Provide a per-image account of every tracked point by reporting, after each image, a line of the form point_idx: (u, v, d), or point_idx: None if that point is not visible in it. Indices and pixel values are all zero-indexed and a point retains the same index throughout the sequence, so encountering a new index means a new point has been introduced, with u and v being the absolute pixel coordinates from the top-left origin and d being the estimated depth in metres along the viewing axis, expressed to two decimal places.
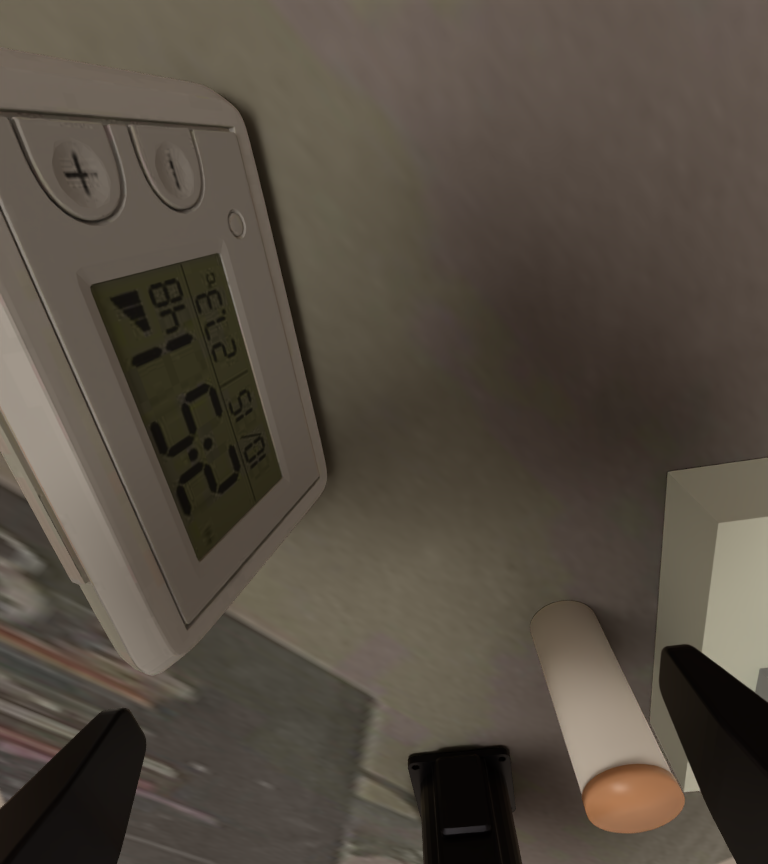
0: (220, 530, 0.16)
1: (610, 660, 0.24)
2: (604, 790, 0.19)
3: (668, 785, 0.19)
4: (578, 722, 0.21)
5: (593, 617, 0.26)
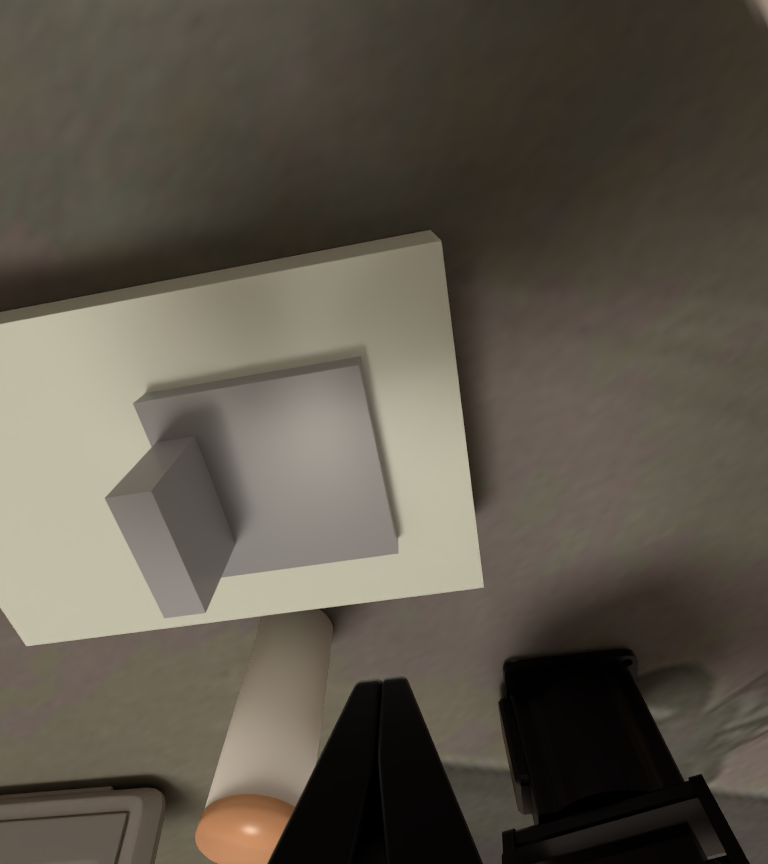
0: None
1: (243, 681, 0.21)
2: (227, 863, 0.17)
3: (205, 826, 0.16)
4: None
5: (262, 624, 0.24)
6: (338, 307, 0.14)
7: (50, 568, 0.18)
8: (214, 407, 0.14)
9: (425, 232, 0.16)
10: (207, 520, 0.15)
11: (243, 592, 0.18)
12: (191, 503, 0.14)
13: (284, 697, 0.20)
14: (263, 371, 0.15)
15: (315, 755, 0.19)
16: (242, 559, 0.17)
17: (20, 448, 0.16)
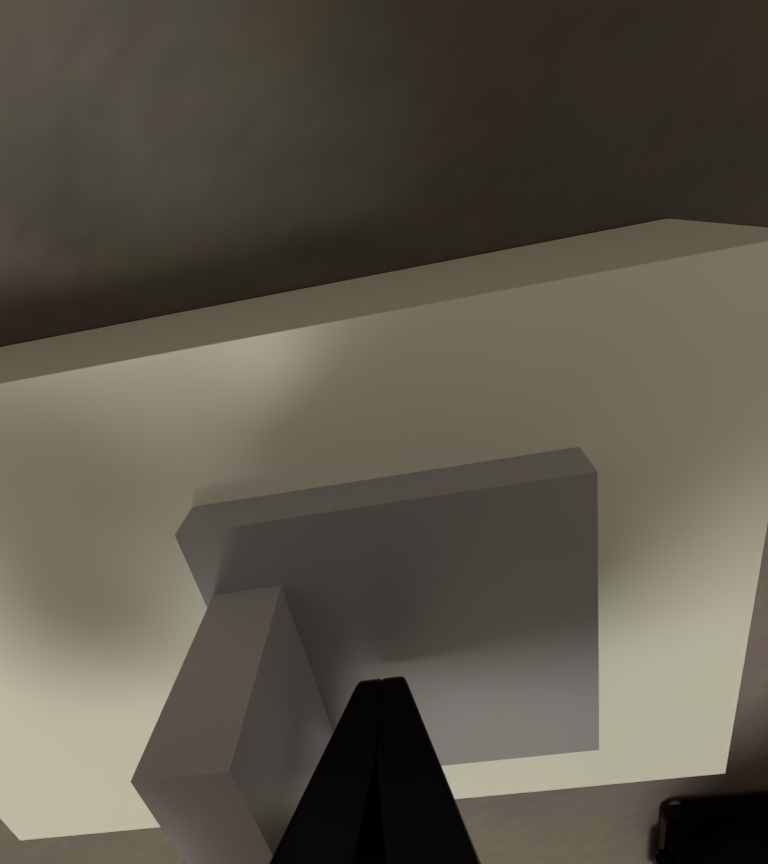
0: None
1: None
2: None
3: None
4: None
5: None
6: (586, 358, 0.07)
7: (55, 747, 0.12)
8: (320, 541, 0.08)
9: (675, 222, 0.10)
10: (304, 735, 0.08)
11: None
12: (284, 725, 0.08)
13: None
14: (430, 467, 0.08)
15: None
16: None
17: (5, 586, 0.10)
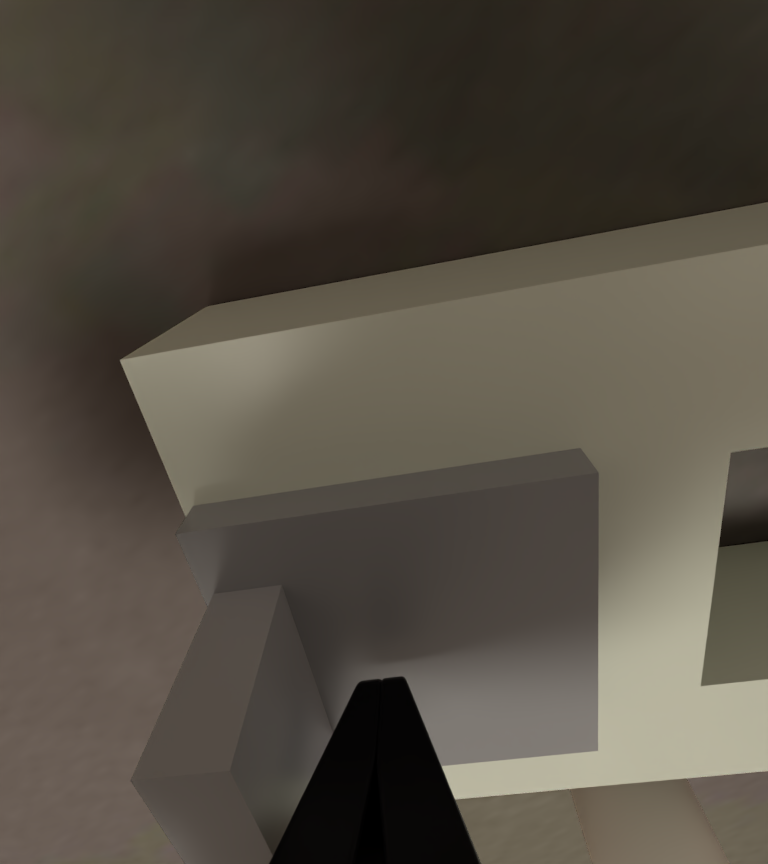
0: None
1: (610, 851, 0.14)
2: None
3: None
4: None
5: None
6: None
7: None
8: (321, 540, 0.08)
9: None
10: (304, 734, 0.08)
11: (696, 744, 0.11)
12: (284, 725, 0.08)
13: None
14: None
15: None
16: None
17: None
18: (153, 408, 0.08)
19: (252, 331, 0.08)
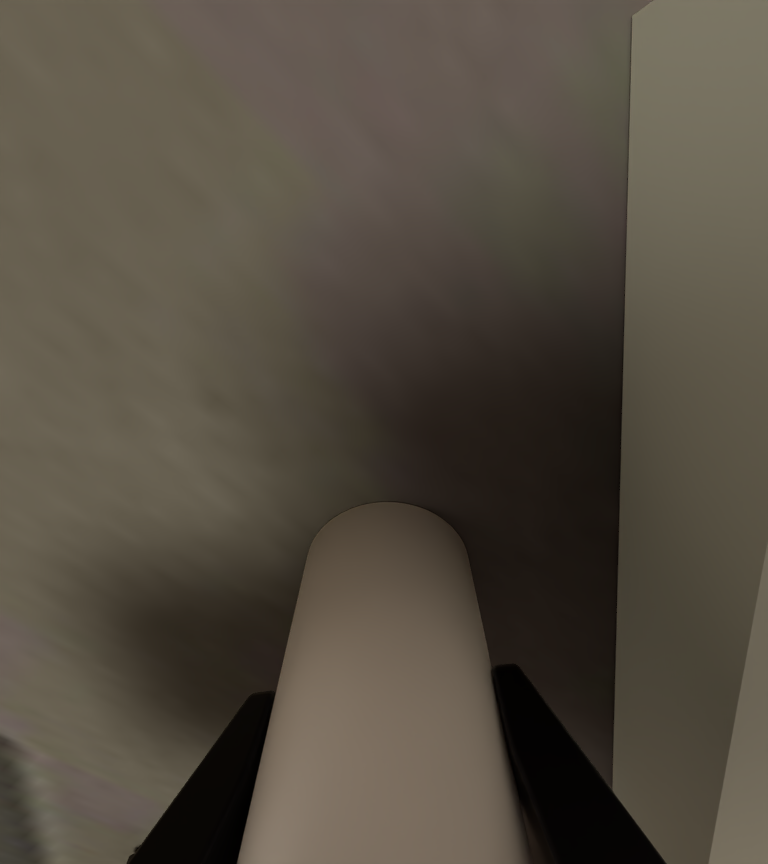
0: None
1: (446, 655, 0.07)
2: None
3: None
4: None
5: (445, 541, 0.10)
6: None
7: None
8: None
9: None
10: None
11: None
12: None
13: None
14: None
15: None
16: None
17: None
18: None
19: None
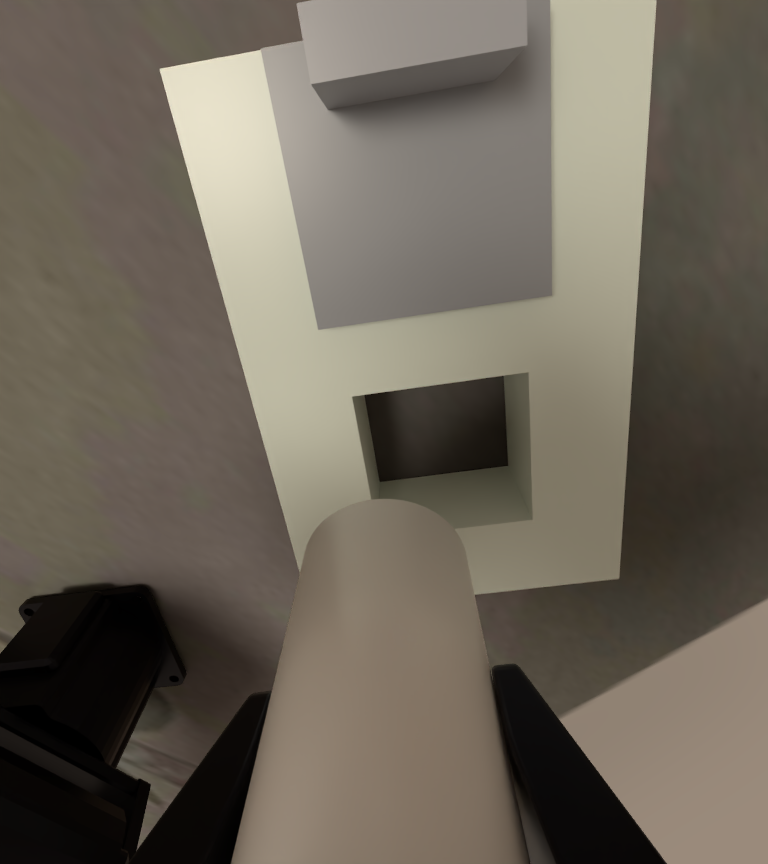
0: None
1: (442, 651, 0.07)
2: None
3: None
4: None
5: (443, 538, 0.10)
6: (588, 517, 0.18)
7: None
8: (528, 117, 0.12)
9: None
10: (401, 87, 0.11)
11: (292, 407, 0.16)
12: (444, 75, 0.10)
13: None
14: (547, 459, 0.17)
15: None
16: (300, 114, 0.12)
17: None
18: None
19: None
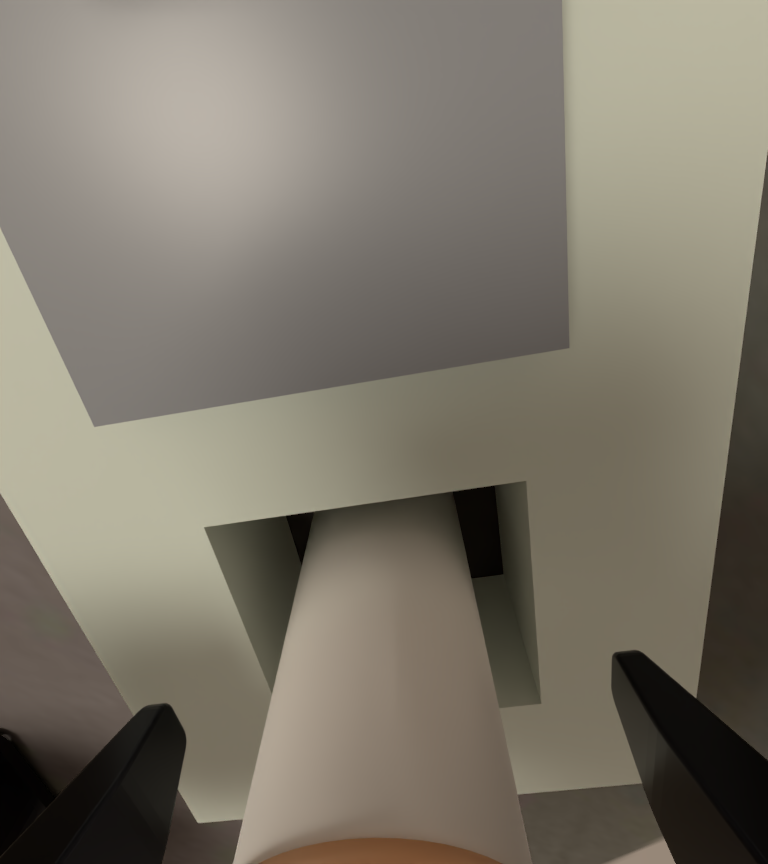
0: None
1: (431, 541, 0.09)
2: None
3: None
4: (282, 690, 0.07)
5: None
6: None
7: None
8: None
9: None
10: None
11: (100, 545, 0.09)
12: None
13: None
14: (564, 618, 0.10)
15: None
16: None
17: None
18: None
19: None
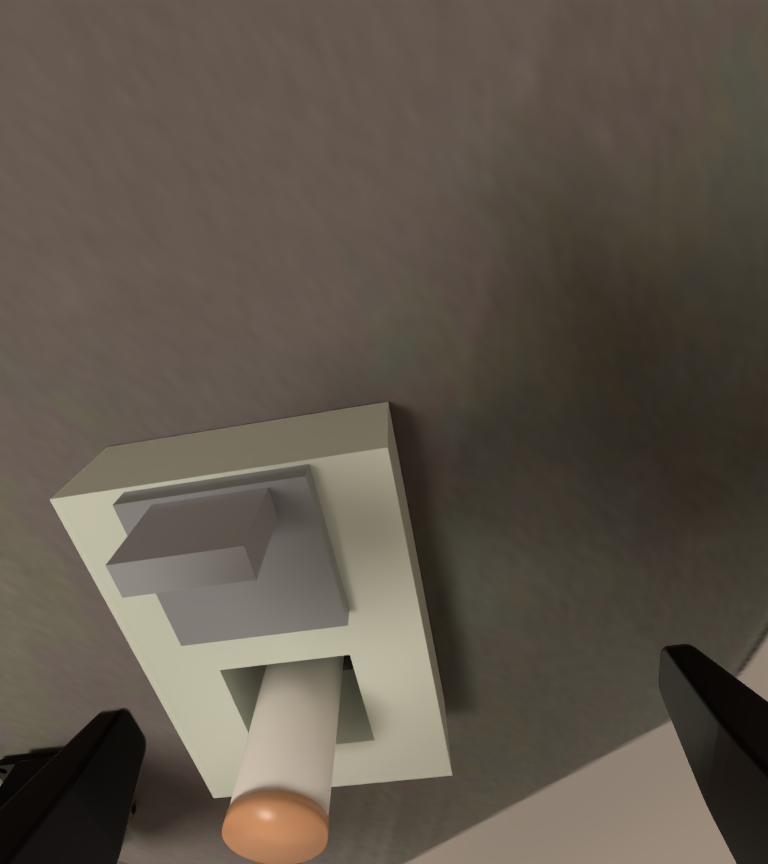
0: None
1: (316, 672, 0.22)
2: (232, 819, 0.17)
3: (299, 814, 0.17)
4: (249, 741, 0.20)
5: None
6: (417, 738, 0.23)
7: None
8: (306, 535, 0.17)
9: None
10: None
11: (176, 676, 0.21)
12: None
13: (335, 733, 0.21)
14: (376, 704, 0.22)
15: None
16: None
17: None
18: (363, 456, 0.17)
19: (397, 492, 0.18)
